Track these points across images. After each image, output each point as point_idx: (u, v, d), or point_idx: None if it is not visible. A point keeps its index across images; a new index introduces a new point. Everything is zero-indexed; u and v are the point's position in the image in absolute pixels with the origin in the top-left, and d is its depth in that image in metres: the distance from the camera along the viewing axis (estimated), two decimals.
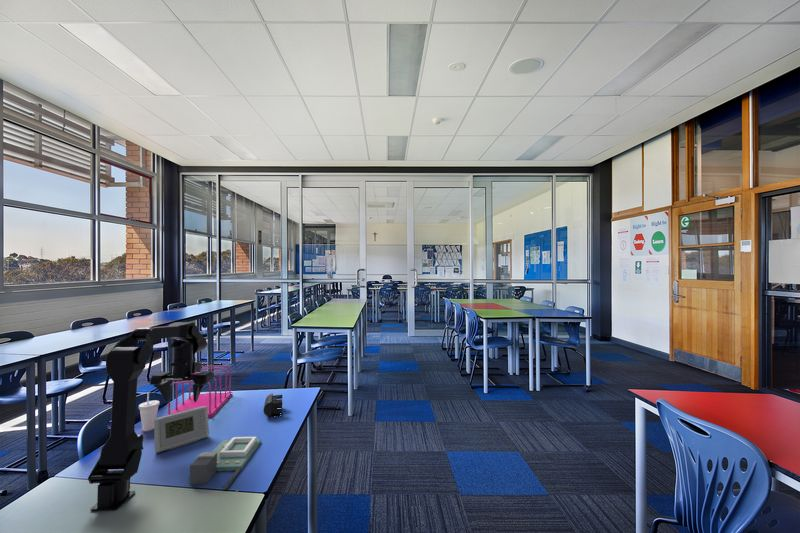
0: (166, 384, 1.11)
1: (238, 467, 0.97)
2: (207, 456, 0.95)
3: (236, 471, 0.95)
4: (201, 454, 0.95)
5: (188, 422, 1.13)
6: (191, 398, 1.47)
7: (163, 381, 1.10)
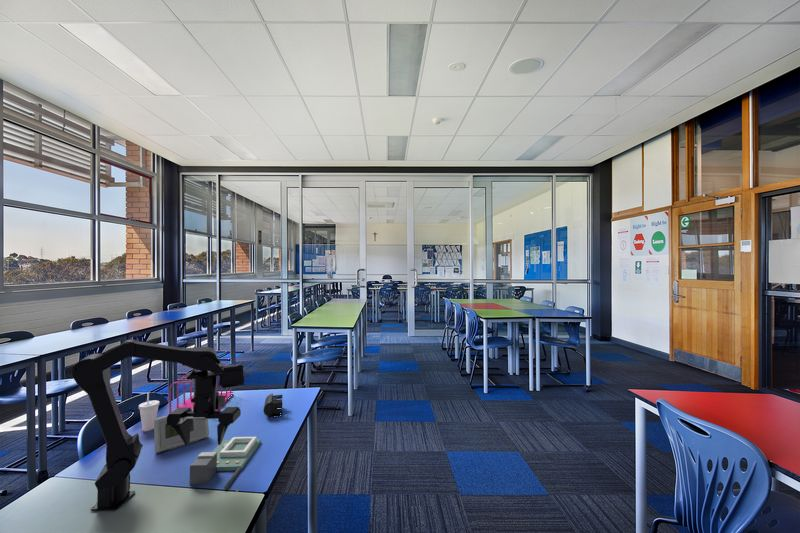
0: (185, 423, 0.93)
1: (238, 467, 0.97)
2: (207, 456, 0.95)
3: (236, 471, 0.95)
4: (201, 454, 0.95)
5: None
6: None
7: (182, 420, 0.92)
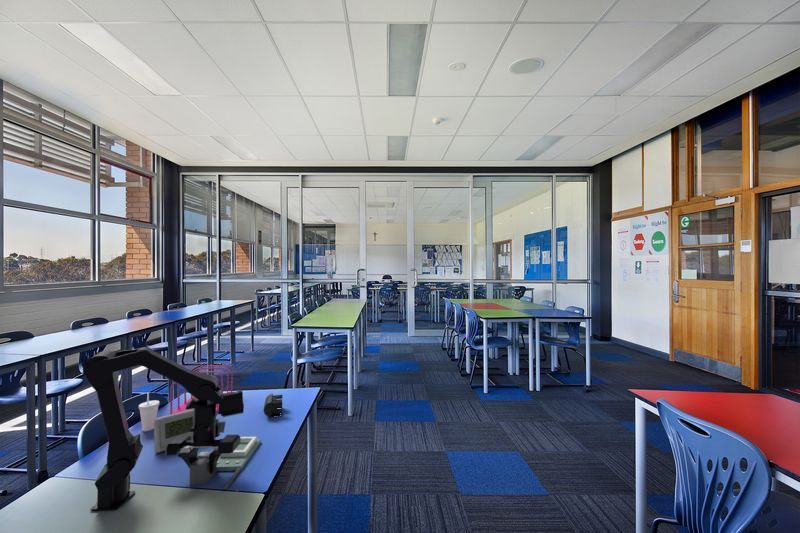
0: (192, 452, 0.93)
1: (238, 467, 0.97)
2: (207, 456, 0.95)
3: (236, 471, 0.95)
4: (201, 454, 0.95)
5: (188, 422, 1.13)
6: None
7: (189, 449, 0.92)
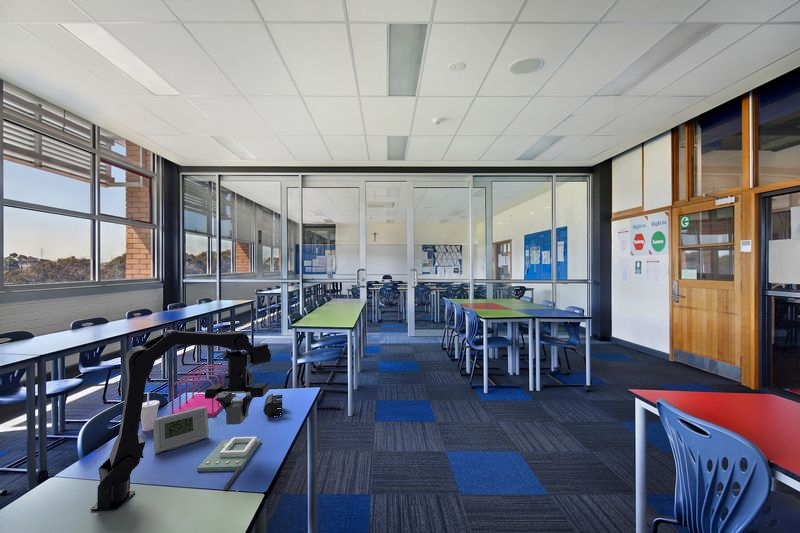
0: (227, 397, 1.05)
1: (238, 467, 0.97)
2: (240, 401, 1.07)
3: (236, 471, 0.95)
4: (234, 400, 1.07)
5: (188, 422, 1.13)
6: (194, 397, 1.49)
7: (225, 394, 1.04)
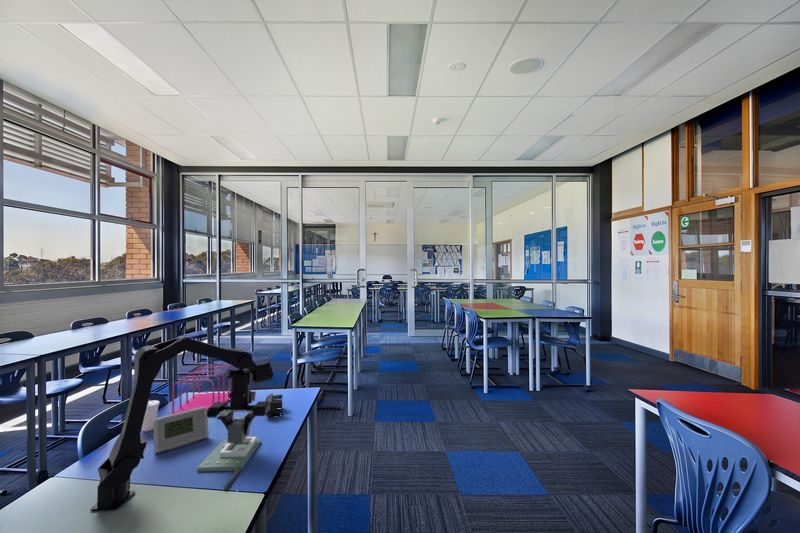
0: (229, 415, 1.06)
1: (238, 467, 0.97)
2: (242, 419, 1.08)
3: (236, 471, 0.95)
4: (236, 418, 1.08)
5: (188, 422, 1.13)
6: (195, 397, 1.49)
7: (227, 413, 1.05)
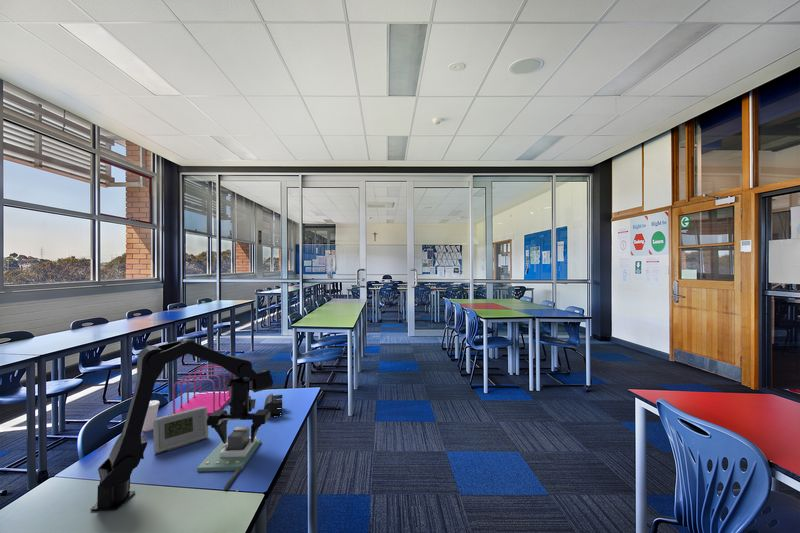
0: (223, 424, 1.06)
1: (238, 467, 0.97)
2: (241, 430, 1.08)
3: (236, 471, 0.95)
4: (236, 428, 1.08)
5: (188, 422, 1.13)
6: (196, 397, 1.49)
7: (220, 421, 1.05)
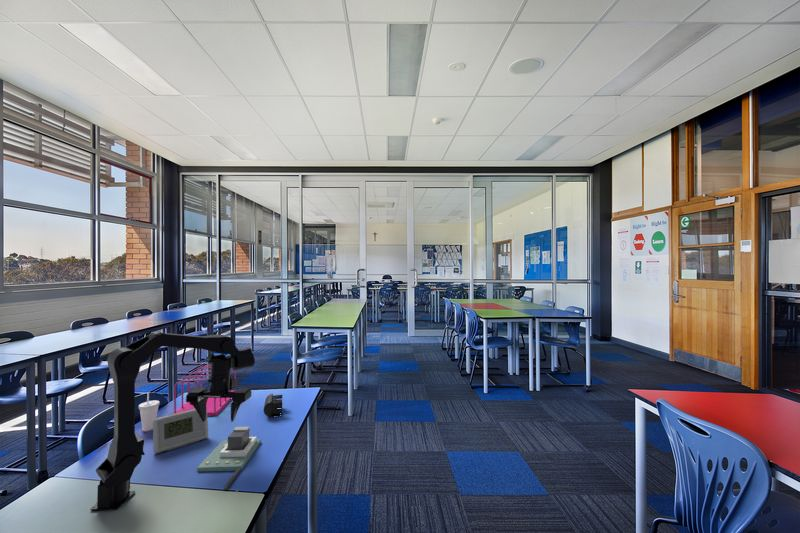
0: (202, 401, 1.04)
1: (238, 467, 0.97)
2: (241, 430, 1.08)
3: (236, 471, 0.95)
4: (236, 428, 1.08)
5: (188, 422, 1.13)
6: None
7: (199, 398, 1.03)
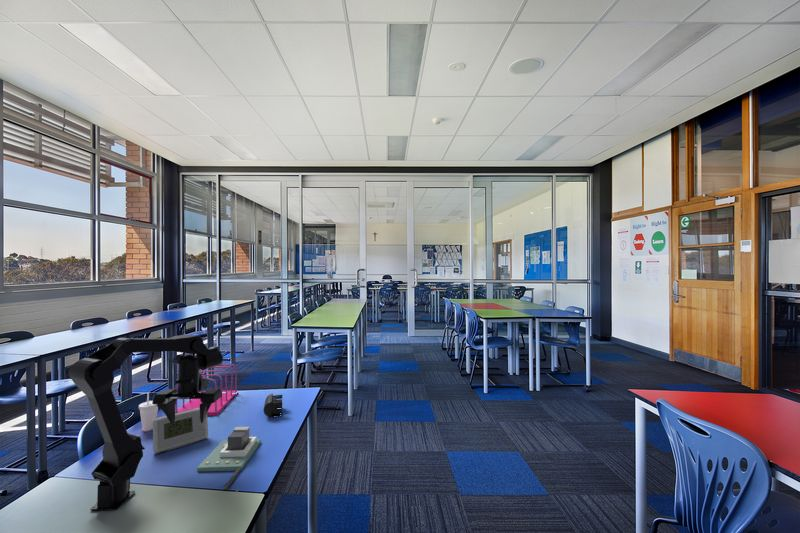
0: (170, 403, 1.01)
1: (238, 467, 0.97)
2: (241, 430, 1.08)
3: (236, 471, 0.95)
4: (236, 428, 1.08)
5: (187, 423, 1.13)
6: None
7: (167, 400, 1.00)
